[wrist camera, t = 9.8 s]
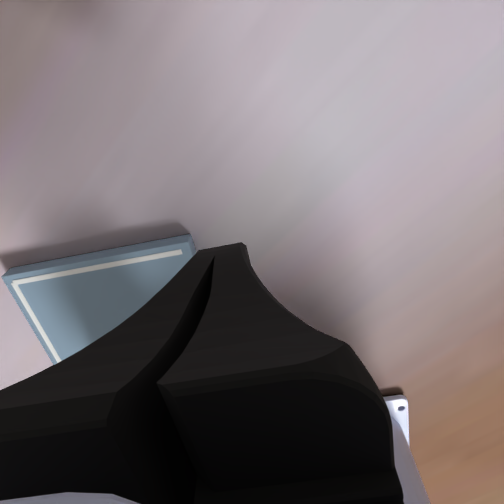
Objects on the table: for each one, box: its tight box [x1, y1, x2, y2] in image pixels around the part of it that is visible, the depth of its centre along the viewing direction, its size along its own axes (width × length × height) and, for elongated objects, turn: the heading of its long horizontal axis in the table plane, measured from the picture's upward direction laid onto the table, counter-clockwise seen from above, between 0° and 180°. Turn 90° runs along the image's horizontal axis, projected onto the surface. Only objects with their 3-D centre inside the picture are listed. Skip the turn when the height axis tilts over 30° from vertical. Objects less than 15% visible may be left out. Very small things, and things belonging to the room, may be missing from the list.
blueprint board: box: [2, 234, 196, 365], centre depth 24 cm, size 14×11×5 cm
